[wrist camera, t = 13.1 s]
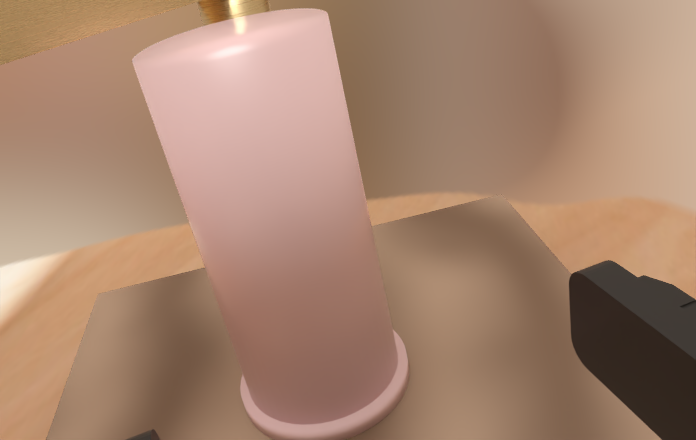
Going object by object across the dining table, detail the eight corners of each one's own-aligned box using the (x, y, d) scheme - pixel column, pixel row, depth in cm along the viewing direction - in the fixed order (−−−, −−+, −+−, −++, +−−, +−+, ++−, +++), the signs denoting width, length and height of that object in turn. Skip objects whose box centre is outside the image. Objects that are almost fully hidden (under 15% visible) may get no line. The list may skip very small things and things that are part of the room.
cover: (245, 465, 20) (100, 90, 14) (244, 349, 25) (137, 38, 20) (428, 418, 20) (355, 31, 15) (390, 312, 25) (325, -5, 20)
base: (-45, 861, 14) (-111, 804, 13) (113, 327, 32) (91, 280, 31) (813, 621, 15) (832, 545, 14) (505, 229, 33) (500, 179, 32)
